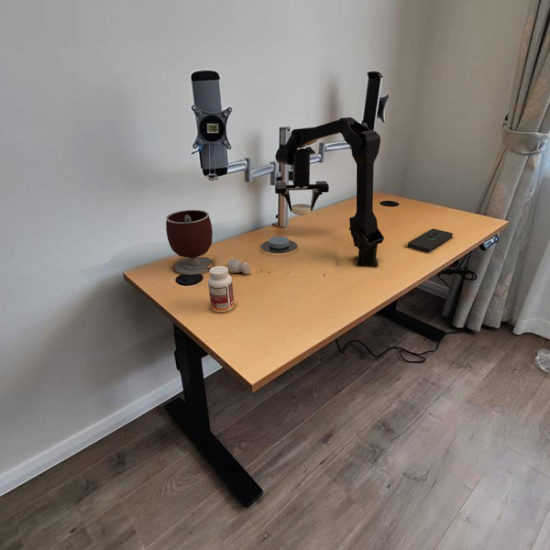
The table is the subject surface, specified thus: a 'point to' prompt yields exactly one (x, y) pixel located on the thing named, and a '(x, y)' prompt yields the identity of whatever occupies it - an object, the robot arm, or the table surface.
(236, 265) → the pale two-lobed sculpture
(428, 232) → the smart home device
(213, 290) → the pill bottle
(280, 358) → the table surface
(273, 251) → the charcoal plate
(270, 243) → the blue saucer
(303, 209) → the cream saucer
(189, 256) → the mate gourd
